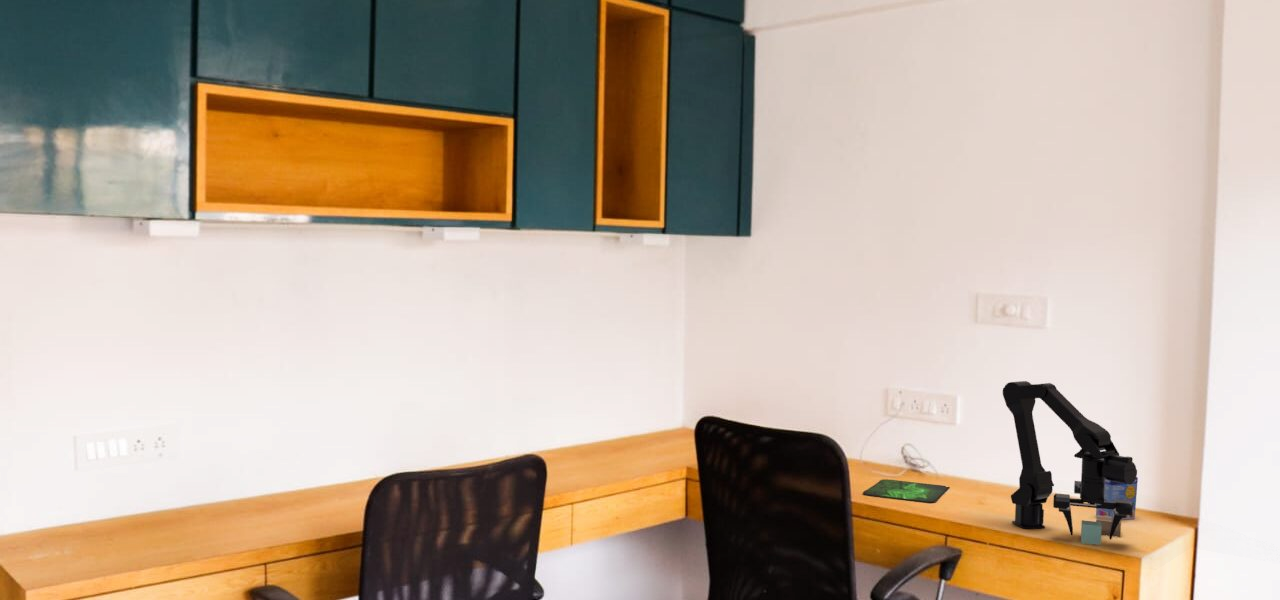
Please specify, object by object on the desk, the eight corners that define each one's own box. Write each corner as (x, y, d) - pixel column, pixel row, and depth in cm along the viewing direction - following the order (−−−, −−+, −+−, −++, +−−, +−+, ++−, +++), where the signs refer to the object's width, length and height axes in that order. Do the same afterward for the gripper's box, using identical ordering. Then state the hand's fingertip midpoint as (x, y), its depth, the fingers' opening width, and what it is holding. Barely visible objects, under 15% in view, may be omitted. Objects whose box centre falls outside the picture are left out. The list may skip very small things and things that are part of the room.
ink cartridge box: (1109, 521, 305) (1111, 470, 304) (1094, 516, 310) (1096, 466, 310) (1136, 519, 309) (1139, 468, 308) (1121, 514, 314) (1124, 464, 313)
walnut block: (1120, 537, 289) (1120, 522, 289) (1095, 534, 291) (1096, 520, 291) (1120, 532, 294) (1120, 517, 294) (1095, 529, 297) (1096, 515, 296)
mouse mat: (882, 479, 356) (882, 476, 356) (951, 487, 347) (951, 484, 347) (861, 496, 332) (861, 493, 332) (934, 505, 322) (935, 501, 322)
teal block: (1100, 545, 280) (1101, 526, 280) (1081, 543, 282) (1082, 524, 282) (1099, 541, 285) (1100, 522, 284) (1080, 539, 286) (1081, 520, 286)
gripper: (1130, 474, 287) (1128, 533, 287) (1054, 468, 293) (1052, 525, 294) (1133, 482, 276) (1131, 544, 277) (1054, 476, 283) (1052, 535, 284)
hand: (1090, 537), depth 283 cm, fingers open, 9 cm apart
